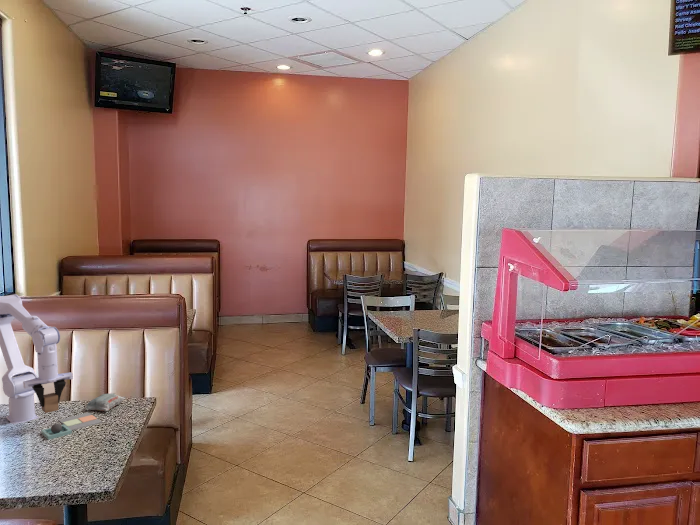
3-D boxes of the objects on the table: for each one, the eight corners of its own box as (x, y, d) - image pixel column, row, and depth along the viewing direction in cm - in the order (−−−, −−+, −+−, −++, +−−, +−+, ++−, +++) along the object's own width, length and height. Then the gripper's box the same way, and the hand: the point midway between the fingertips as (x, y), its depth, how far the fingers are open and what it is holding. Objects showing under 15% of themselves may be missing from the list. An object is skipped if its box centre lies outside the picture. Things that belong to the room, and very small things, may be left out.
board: (58, 422, 191) (58, 419, 191) (88, 414, 198) (88, 411, 198) (70, 432, 182) (70, 429, 182) (101, 424, 189) (101, 421, 189)
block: (41, 409, 185) (41, 395, 184) (54, 406, 187) (54, 392, 187) (45, 413, 182) (44, 398, 181) (58, 410, 185) (58, 395, 184)
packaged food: (125, 404, 209) (125, 391, 209) (106, 415, 197) (106, 402, 197) (105, 402, 211) (104, 390, 210) (85, 414, 199) (84, 401, 198)
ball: (49, 433, 180) (49, 423, 180) (60, 430, 183) (59, 421, 182) (52, 436, 178) (52, 426, 178) (63, 433, 180) (63, 423, 180)
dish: (41, 434, 180) (41, 430, 180) (64, 428, 185) (64, 424, 185) (48, 441, 175) (48, 436, 175) (71, 435, 180) (71, 430, 180)
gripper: (26, 371, 175) (28, 412, 177) (75, 362, 185) (77, 401, 187) (20, 366, 180) (22, 407, 182) (68, 358, 190) (69, 396, 192)
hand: (49, 404), depth 185 cm, fingers closed on block, 4 cm apart
